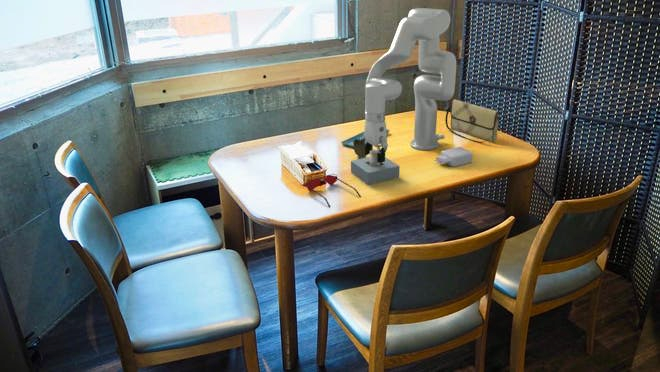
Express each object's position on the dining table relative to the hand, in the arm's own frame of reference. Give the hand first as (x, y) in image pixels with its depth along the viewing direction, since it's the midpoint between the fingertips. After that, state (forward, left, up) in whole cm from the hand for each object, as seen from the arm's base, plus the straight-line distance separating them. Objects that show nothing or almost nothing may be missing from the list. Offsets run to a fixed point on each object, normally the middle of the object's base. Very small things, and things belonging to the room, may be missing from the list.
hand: (374, 157), depth 215 cm
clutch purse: (-61, -17, -8) cm, 63 cm away
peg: (0, 0, -7) cm, 7 cm away
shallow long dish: (-17, -38, -8) cm, 42 cm away
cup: (-4, -18, -7) cm, 20 cm away
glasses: (+22, +8, -8) cm, 25 cm away
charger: (-34, +4, -8) cm, 35 cm away
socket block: (0, 0, -7) cm, 7 cm away
